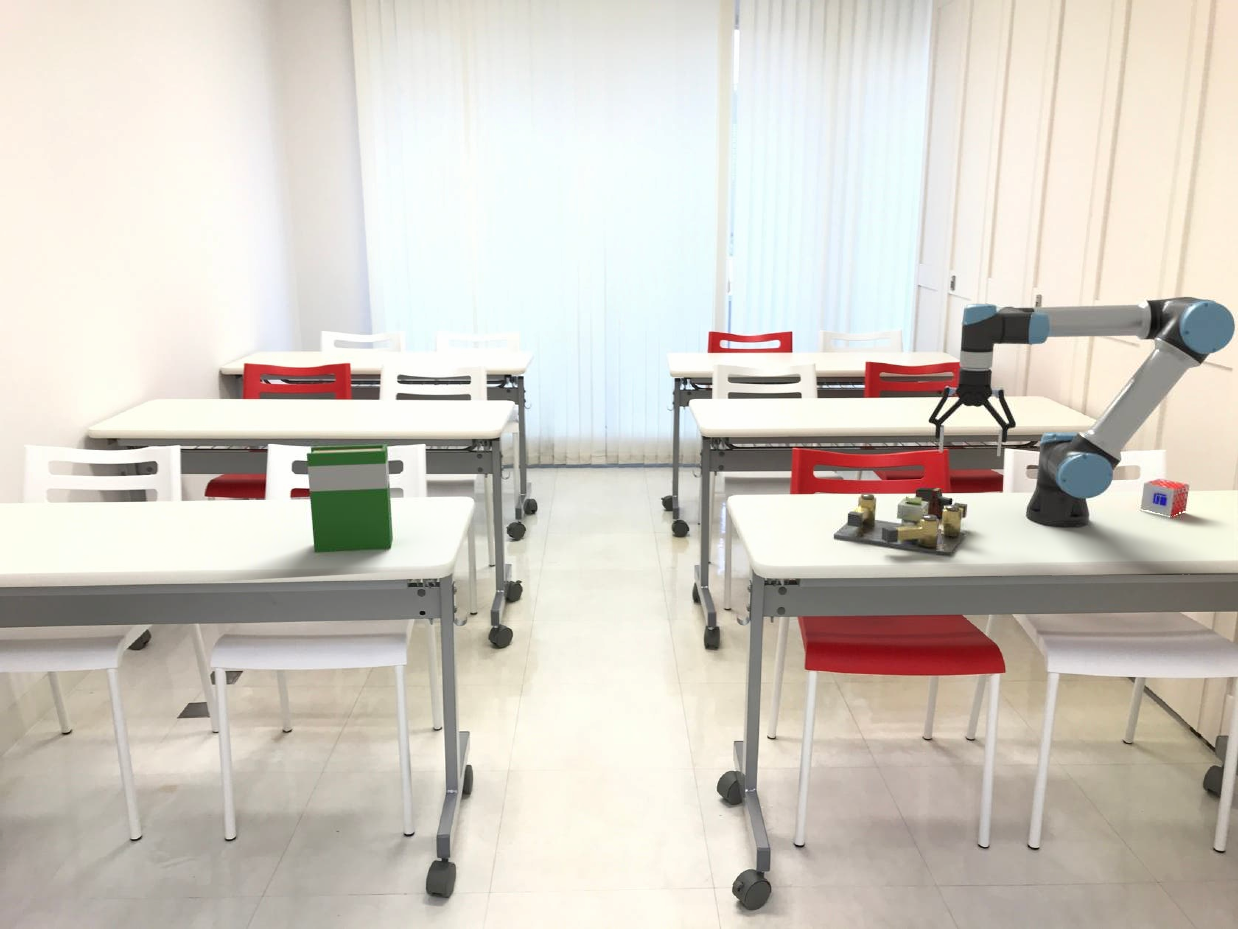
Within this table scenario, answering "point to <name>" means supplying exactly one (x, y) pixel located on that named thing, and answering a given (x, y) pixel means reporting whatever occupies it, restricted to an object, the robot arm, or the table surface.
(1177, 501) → the red and white box
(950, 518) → the knob
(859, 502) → the knob
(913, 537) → the knob
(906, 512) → the valve board
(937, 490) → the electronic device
